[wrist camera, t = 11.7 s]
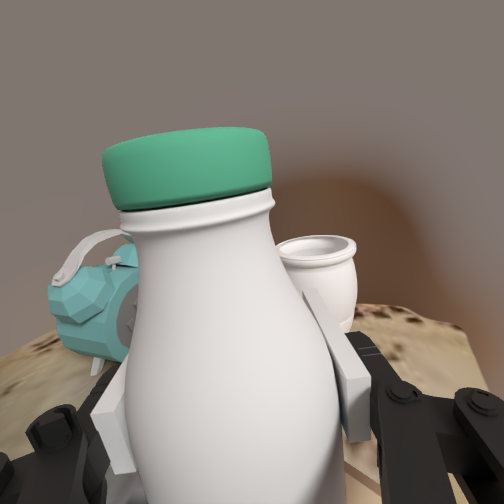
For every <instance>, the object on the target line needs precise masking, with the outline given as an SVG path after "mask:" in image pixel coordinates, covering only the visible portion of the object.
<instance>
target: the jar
mask: <svg viewBox="0 0 504 504" xmlns="http://www.w3.org/2000/svg"><path fill="white" fill-rule="evenodd" d="M276 249H277V252H278V254H279V256H280V259H281V261H282V264H283V266H284V268H285V270H286V272H287V274H288V276H289V278H290V279H291V281H292V283H293V285H294V286H295V288H296V290H297V291H298V293H299V294H300V296H301V298H302V299H303V295H302V290H303V289H310V288H316V289H317V291H318V292H319V294H320V295H321V297H322V299H323V300H324V302H325V303H326V305H327V307H328V308H329V310H330V311H331V313H332V315H333V316H334V318H335V319H336V321H337V323H338V324H339V326H340V327H341V329H342V331H343V332H344V333H348V332H349V330H350V328H351V325H352V322H353V317H354V309H355V304H356V298H357V278H356V271H355V266H354V263H353V259H352V256H353V255H354V254H355V252H356V243H355V241H353V240H351V239H349V238H345V237H341V236H331V235H317V236H306V237H300V238H295V239H291V240H288V241H285V242H282V243H280V244H278V245H277V246H276Z"/></svg>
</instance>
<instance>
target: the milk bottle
mask: <svg viewBox="0 0 504 504" xmlns="http://www.w3.org/2000/svg"><path fill="white" fill-rule="evenodd" d="M102 167H103V171H104V175H105V179H106V184H107V187H108V190H109V193H110V195H111V199H112V202H113V204H114V205H115V207H116V208H117V210H121V211H120V212H119V216H120V219H121V225H120V229H121V231H123V232H125V233H128V234H130V235H131V237H132V239H133V241H134V244H135V248H136V251H137V257H138V267H139V287H138V305H137V313H136V320H135V325H134V330H133V335H132V340H131V345H130V349H129V355H128V361H127V367H126V374H125V416H126V423H127V429H128V434H129V440H130V446H131V449H132V453H133V456H134V459H135V463H136V466H137V469H138V472H139V476H140V479H141V482H142V486H143V489H144V492H145V495H146V498H147V501H148V504H347V502H346V485H345V470H344V454H343V439H342V425H341V416H340V406H339V397H338V388H337V383H336V378H335V373H334V369H333V364H332V360H331V357H330V354H329V351H328V348H327V345H326V342H325V339H324V337H323V335H322V333H321V331H320V328H319V326H318V324H317V322H316V320H315V319H314V317H313V315H312V314H311V312H310V310H309V309H308V307H307V305H306V304H305V302H304V301H303V299H302V298H301V296H300V294H299V293H298V291H297V290H296V288H295V286H294V285H293V283H292V281H291V279H290V278H289V276H288V274H287V272H286V270H285V268H284V266H283V264H282V261H281V259H280V256H279V254H278V252H277V249H276V246H275V244H274V241H273V237H272V234H271V230H270V225H269V211H270V209H271V208H272V207H273V206H274V205H275V201H274V200H273V199H272V194H271V189H270V188H269V186H270V185H271V181H272V171H271V160H270V154H269V147H268V142H267V140H266V137H265V134H264V133H262V132H261V131H259V130H255V129H250V128H242V127H216V128H201V129H190V130H182V131H173V132H167V133H161V134H154V135H149V136H144V137H139V138H135V139H131V140H128V141H124V142H122V143H118V144H116V145H114V146H112V147H109V148H108V149H106V150H105V151H104V153H103V154H102Z"/></svg>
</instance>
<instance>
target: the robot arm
mask: <svg viewBox="0 0 504 504" xmlns="http://www.w3.org/2000/svg"><path fill="white" fill-rule="evenodd" d="M302 295H303V301H304V302H305V304H306V305H307V307H308V309H309V310H310V312H311V314H312V315H313V317H314V319H315V320H316V322H317V324H318V326H319V328H320V331H321V333H322V335H323V337H324V339H325V342H326V345H327V348H328V351H329V354H330V357H331V360H332V364H333V369H334V373H335V378H336V383H337V388H338V397H339V406H340V416H341V423H342V426H343V428H344V431H345V434H346V436H347V439H348V441H349V443H353V442H361V441H368V440H371V429H372V431H373V433H374V435H375V437H376V439H377V467H379V476H380V487H381V499H382V504H457V503H456V500H455V496H454V493H453V490H452V486H451V483H450V480H449V476H448V473H452V474H453V475H454V477H455V479H456V481H457V483H458V484H459V486H460V488H461V490H462V492H463V493H464V495H465V497H466V499H467V501H468V502H469V504H504V401H503V400H501V399H500V398H499V397H497V396H495V395H493V394H491V393H489V392H487V391H484V390H481V389H478V388H469V387H467V388H462V389H459V390H458V391H457V392H455V397H454V399H449V398H441V397H434V396H429V395H425V394H422V392H421V391H420V390H419V389H417V388H416V387H415V386H414V385H412V384H410V383H408V382H406V381H402V380H401V378H400V377H399V376H398V375H397V373H396V372H395V371H394V369H393V368H392V367H391V365H390V364H389V363H388V361H387V360H386V359H385V357H384V356H383V355H382V354H381V352H380V351H379V350H378V348H377V347H376V346H375V344H374V343H373V342H372V340H371V339H370V338H369V337H368V336H366V335H365V334H363V333H362V332H360V331H357V332H349V333H344V332H343V331H342V329H341V327H340V326H339V324H338V323H337V321H336V319H335V318H334V316H333V315H332V313H331V311H330V310H329V308H328V307H327V305H326V303H325V302H324V300H323V299H322V297H321V295H320V294H319V292H318V291H317V289H316V288H310V289H303V290H302ZM128 355H129V353H128V354H127V356H126V358H125V359H124V361H123V363H122V364H121V365H115V366H112V367H111V368H110V369H109V370H107V371H106V372H105V373H104V374H103V375H102V376H101V378H100V379H99V381H98V382H97V383H96V386H95V387H94V388H93V389H92V391H91V392H90V395H88V397H87V398H86V400H85V401H84V403H83V404H82V405H81V407H80V408H79V410H78V411H76V409H75V407H74V406H72V405H70V404H64V405H60V406H56V407H54V408H52V409H50V410H48V411H46V412H45V413H43V414H42V415H40V416H39V417H38V418H37V419H36V420H34V421H33V422H32V423H31V424H30V426H29V427H28V429H27V430H26V432H25V433H26V435H27V437H28V439H29V441H30V443H31V445H32V446H33V448H34V450H35V452H33V453H30V454H28V455H25V456H23V457H20V458H18V459H15V460H13V461H10V460H9V458H8V456H7V455H6V454H5V453H3V452H0V504H106V495H107V482H106V479H105V477H104V475H105V473H106V471H107V469H108V467H109V464H111V467H112V469H113V471H114V474H115V475H117V474H124V473H132V472H137V466H136V463H135V459H134V456H133V453H132V449H131V446H130V440H129V434H128V429H127V423H126V416H125V374H126V367H127V361H128ZM447 472H448V473H447Z"/></svg>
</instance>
